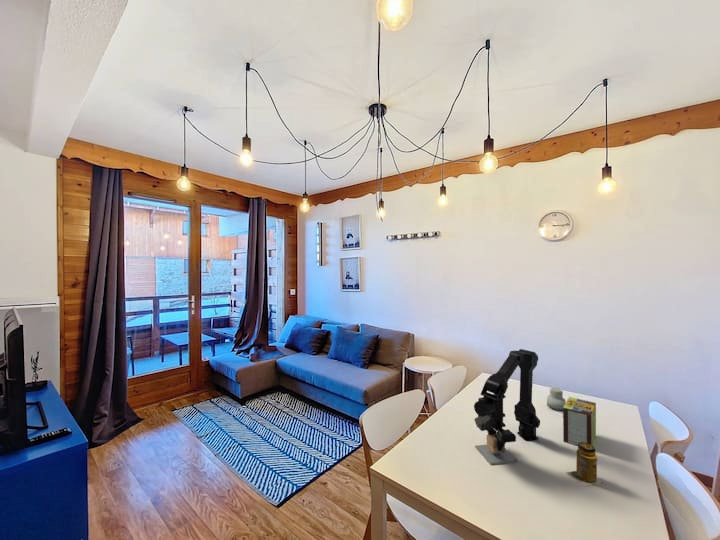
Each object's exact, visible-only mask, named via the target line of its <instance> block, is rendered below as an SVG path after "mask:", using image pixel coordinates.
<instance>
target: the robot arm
mask: <svg viewBox="0 0 720 540" xmlns="http://www.w3.org/2000/svg"><path fill="white" fill-rule="evenodd" d="M538 361H539V356H538V354H537V353H536V352H535V351H531V350H526V349H523V348H520V349H519V350H511V351H509V354H508V356H507V358H506V359H505V360H504V362H503V364H502V365H501V366H500V368H499V369H498V370H497V372H495V373H493V374H491V375H490V376H489V377H488V378H487V379H486V380H485V382H484V385H483V386H482V390H481V392H480V396H483V397H478V401H476V402H475V403H474V405H473V408H474V411H475V413H476V414H477V417H475V418H474V419H473V420H474V422H475V426H476V427H477V429H479V431H480V432H484V431H487V432H486V433H487V435H490V434H496V435H493V436H494V437H495V438H496V439H497V447H498V451H501V450H502V448H503V446H504V445H505V446H506V443H514V442H516V441H517V436H516V435H515V434H514V433H513V432H512V431H511V430H510V429H504V428H506V423H505V422H504V418H505V417H506V413H504V399H506V398H507V395H505V394H506V392H507V390H508V388H509V383H508V381H509V380H510V378H511V377H512V375H513V373H514V372H516V371H515V370H517V367H519V369H520V372H519V376H520V380H519V401H517V403H516V404H515V405H514V407H513V408H514V412H513V414H514V417H515V421H517V422H518V431H517V432H516V434H517V435H518V436H520V438H522V439H523V440H524V441H528V442H529V441H537V440H539V437H538V436H537V429H539V428H540V425H541V420H540V418H539V417H538V416H537V412H536V407H535V406H534V404H533V402H532V401H533V375H534V374H533V372H534V370H535V369H536V367H537V366H538Z"/></svg>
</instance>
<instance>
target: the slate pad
mask: <svg viewBox="0 0 720 540" xmlns="http://www.w3.org/2000/svg"><path fill="white" fill-rule="evenodd" d="M474 448H475V449H476V450H477V451H478V452H479V454H480V455H481V456H482V457H483V458H484V459H485V461H486V462H487V463H488V464H489V465H491V466H492V465H500V464H501V465H502V464H509V463H510V464H511V463H512V464H513V463H519V459H517V457H515V456H514V455H513V454H512V453H511V452H510V450H508V449H507V448H506V447H505V453H495V454H493V453H492V452H491V451H490V449H489V448H488V447H487V444H479V445H474Z"/></svg>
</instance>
